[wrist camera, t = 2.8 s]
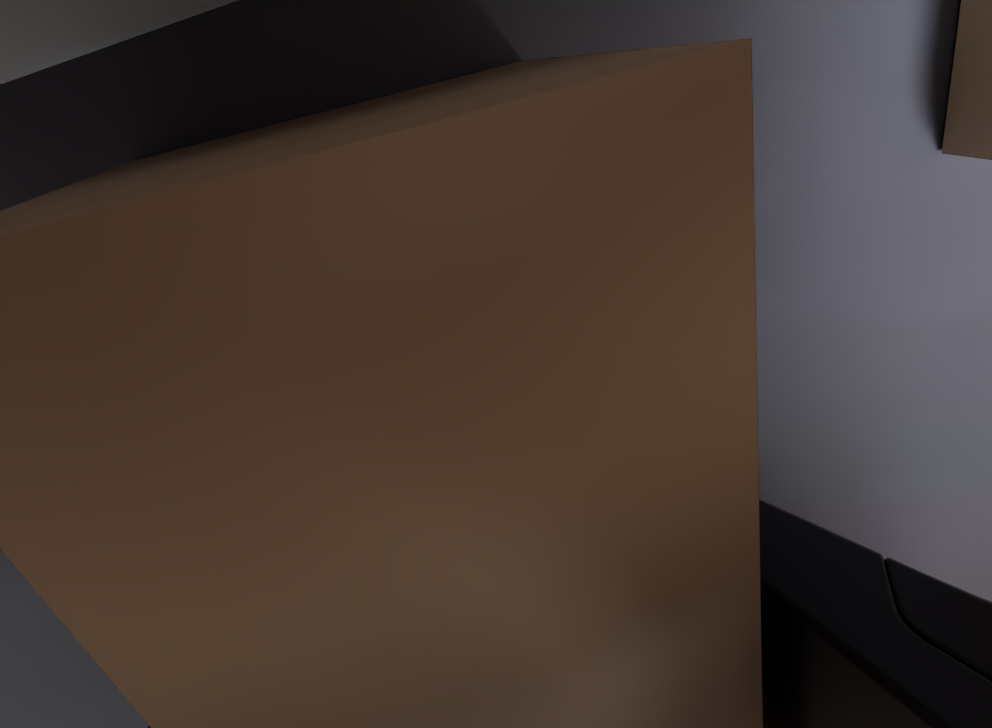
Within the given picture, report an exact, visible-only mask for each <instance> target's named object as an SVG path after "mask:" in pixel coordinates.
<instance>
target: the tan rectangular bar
mask: <svg viewBox="0 0 992 728" xmlns="http://www.w3.org/2000/svg"><path fill="white" fill-rule="evenodd" d="M0 550H1V551H2V552H3V553H4V554H5V555H6V557H7V558H8V559H9V560H10V561H11V563H12V564H13V565H14V566H15V567H16V568H17V570H18V571H19V572H20V573H21V574H22V576H23V577H24V578H25V579H26V580H27V581H28V583H29V584H30V585H31V586H32V587H33V589H34V590H35V591H36V592H37V593H38V595H39V596H40V597H41V598H42V599H43V600H44V602H45V603H46V604H47V605H48V606H49V608H50V609H51V610H52V611H53V612H54V613H55V615H56V616H57V617H58V618H59V619H60V621H61V622H62V623H63V624H64V625H65V626H66V628H67V629H68V630H69V631H70V632H71V634H72V635H73V636H74V637H75V638H76V640H77V641H78V642H79V643H80V644H81V645H82V647H83V648H84V649H85V650H86V651H87V653H88V654H89V655H90V656H91V657H92V658H93V660H94V661H95V662H96V663H97V664H98V666H99V667H100V668H101V669H102V670H103V671H104V673H105V674H106V675H107V676H108V677H109V679H110V680H111V681H112V682H113V683H114V685H115V686H116V687H117V688H118V689H119V690H120V692H121V693H122V694H123V695H124V696H125V698H126V699H127V700H128V701H129V702H130V703H131V705H132V706H133V707H134V708H135V709H136V711H137V712H138V713H139V714H140V715H141V716H142V718H143V719H144V720H145V721H146V722H147V724H148V725H149V726H150V727H151V728H763V717H762V655H761V593H760V532H759V470H758V408H757V347H756V285H755V223H754V162H753V100H752V38H751V39H741V40H730V41H720V42H710V43H700V44H689V45H679V46H669V47H658V48H648V49H638V50H628V51H617V52H607V53H597V54H586V55H576V56H566V57H556V58H545V59H535V60H525V61H520V62H516V63H512V64H508V65H504V66H500V67H497V68H493V69H489V70H485V71H481V72H477V73H473V74H469V75H465V76H462V77H458V78H454V79H450V80H446V81H442V82H438V83H434V84H430V85H426V86H423V87H419V88H415V89H411V90H407V91H403V92H399V93H395V94H391V95H388V96H384V97H380V98H376V99H372V100H368V101H364V102H360V103H356V104H352V105H349V106H345V107H341V108H337V109H333V110H329V111H325V112H321V113H317V114H314V115H310V116H306V117H302V118H298V119H294V120H290V121H286V122H282V123H279V124H275V125H271V126H267V127H263V128H259V129H255V130H251V131H247V132H243V133H240V134H236V135H232V136H228V137H224V138H220V139H216V140H212V141H208V142H205V143H201V144H197V145H193V146H189V147H185V148H181V149H177V150H173V151H170V152H166V153H162V154H158V155H154V156H150V157H146V158H142V159H138V160H134V161H131V162H128V163H126V164H123V165H120V166H118V167H115V168H112V169H110V170H107V171H104V172H102V173H99V174H96V175H94V176H91V177H89V178H86V179H83V180H81V181H78V182H75V183H73V184H70V185H67V186H65V187H62V188H59V189H57V190H54V191H51V192H49V193H46V194H44V195H41V196H38V197H36V198H33V199H30V200H28V201H25V202H22V203H20V204H17V205H14V206H12V207H9V208H6V209H4V210H1V211H0Z"/></svg>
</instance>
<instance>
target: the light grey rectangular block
mask: <svg viewBox="0 0 992 728" xmlns="http://www.w3.org/2000/svg"><path fill="white" fill-rule="evenodd" d="M235 1H238V0H0V84H3V83H6V82H9V81H12V80H15V79H17V78H20V77H23V76H26V75H29V74H32V73H34V72H37V71H40V70H43V69H46V68H49V67H51V66H54V65H57V64H60V63H63V62H65V61H68V60H71V59H74V58H77V57H80V56H82V55H85V54H88V53H91V52H94V51H97V50H99V49H102V48H105V47H108V46H111V45H113V44H116V43H119V42H122V41H125V40H128V39H130V38H133V37H136V36H139V35H142V34H145V33H147V32H150V31H153V30H156V29H159V28H162V27H164V26H167V25H170V24H173V23H176V22H178V21H181V20H184V19H187V18H190V17H193V16H195V15H198V14H201V13H204V12H207V11H210V10H212V9H215V8H218V7H221V6H224V5H226V4H229V3H232V2H235Z"/></svg>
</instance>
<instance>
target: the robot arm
mask: <svg viewBox="0 0 992 728" xmlns="http://www.w3.org/2000/svg"><path fill="white" fill-rule="evenodd" d="M759 532H760V593H761V655H762V717H763V728H992V602H991V601H988V600H985V599H983V598H980V597H978V596H976V595H973V594H971V593H969V592H966V591H964V590H962V589H959V588H957V587H955V586H952V585H950V584H948V583H945V582H943V581H941V580H938V579H936V578H934V577H931V576H929V575H927V574H924V573H922V572H920V571H918V570H916V569H913V568H911V567H909V566H907V565H905V564H902V563H900V562H898V561H896V560H893V559H891V558H886V559H885V560H884V558H883V556H882V555H881V554H880V553H877V552H875V551H873V550H871V549H869V548H866V547H864V546H862V545H860V544H858V543H855V542H853V541H851V540H849V539H847V538H844V537H842V536H840V535H838V534H835V533H833V532H831V531H829V530H827V529H824V528H822V527H820V526H818V525H816V524H813V523H811V522H809V521H807V520H805V519H802V518H800V517H798V516H796V515H794V514H791V513H789V512H787V511H785V510H782V509H780V508H778V507H776V506H774V505H771V504H769V503H767V502H765V501H763V500H760V499H759ZM148 728H151V727H150V726H148Z"/></svg>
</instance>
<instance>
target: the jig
mask: <svg viewBox="0 0 992 728" xmlns="http://www.w3.org/2000/svg"><path fill="white" fill-rule="evenodd" d="M942 153H943V154H950V155H958V156H966V157H974V158H981V159H989V160H992V0H961V7H960V15H959V22H958V30H957V38H956V46H955V54H954V61H953V69H952V77H951V85H950V93H949V100H948V108H947V116H946V124H945V132H944V140H943V147H942Z"/></svg>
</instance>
